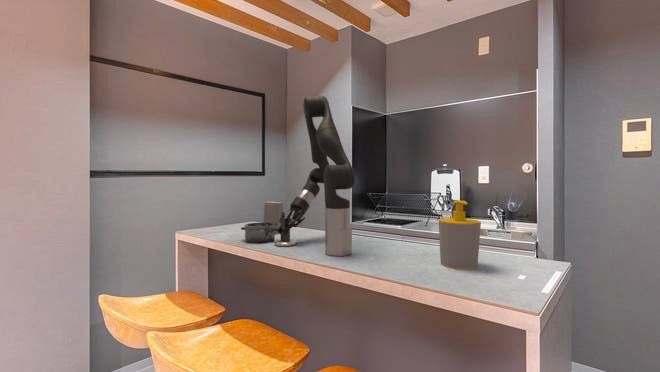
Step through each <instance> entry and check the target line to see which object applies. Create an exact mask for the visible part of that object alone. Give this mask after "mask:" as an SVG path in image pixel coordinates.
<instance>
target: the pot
mask: <svg viewBox="0 0 660 372" xmlns="http://www.w3.org/2000/svg"><path fill="white" fill-rule="evenodd" d="M240 230H241V231H244V242H245V243H248V244H268V243H273V242H275V241H276V238H275V237H276V236H275V235H276V234H275V231H277V230H278V228H275V224H274V223H263V222H251V223H246V224H244V226H241V227H240Z"/></svg>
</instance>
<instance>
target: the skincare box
mask: <svg viewBox="0 0 660 372" xmlns="http://www.w3.org/2000/svg"><path fill="white" fill-rule="evenodd" d="M284 204H285V203H284V202H279V201H264V203H263V205H264V206H263V207H264V208H263V222H262V223H274V224H275V228H279V227H280V222H279V221H280V217H281V214H282V212H284V206H285V205H284ZM278 234H280V233H278V231H275V235H278Z"/></svg>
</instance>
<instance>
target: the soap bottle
mask: <svg viewBox="0 0 660 372" xmlns="http://www.w3.org/2000/svg"><path fill="white" fill-rule="evenodd" d="M453 203H455V210H453V211H452V217H445V218H439V219H438V236H439V237H438V239H439V256H440V260H439V261H440V265H441V266H443V267H444V268H445V267H446V268H448V269H454V270H463V271H465V270H468V269H469V270H475V269H477V268H478V267H479V265H478V264H479V263H478V262H479V253H480V251H479V250H480V238H481V237H480V236H481V225H482V223H481V221H480V220H478V219H472V218H466V211H465V210H464V205H465V206H466V205H469V203H468V202H467V201H466V200H457V199H456V200H453Z"/></svg>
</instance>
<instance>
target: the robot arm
mask: <svg viewBox="0 0 660 372" xmlns="http://www.w3.org/2000/svg"><path fill="white" fill-rule="evenodd" d="M303 113H304V114H303V115H304V117H305V124H306V129H307V134H308V136H309V137H308V138H309V145H310V153H311V160H312V162H313V164H316V165H317V166H318V167H315V168H313V169H311V170H310V172H309V175H308V177H307V179H306V182H305V184H304V186H303V187H302V189H301V190H300V191H299V192H298V193H297V195H296V196H295V197H294V199H293V200H292V201H291V203H290V205H289V206H290V208H289V209H288V210H287V212H285V211H283V212H282V214H281V217H280V218H285V217H286V218H290V219H289V222H288V225H286V227H285V228H284V229H283V231H282V232H283V233H284V234H285V235H286V234H287V233H288V232H289V230H290V231H291V229H292V228H296V227H298V226H299V225H300V224H302V222H303V221H304V220H305V219H306V217H305V216H304V215H306V213H307V211H309V208H310V207H311V205H312V204H313V203H314V200H315V198H317V195H319V192H320V190H321V187H320V186H319V184H323V187H324V206H325V207H324V208H325V209H324V211H325V213H324V215H325V216H324V228H325V229H324V235H325V236H324V237H325V239H324V242H325V245H324V246H325V248H324V251H325V252H324V253H325V254H326V255H328V256H335V257H337V256H338V257H344V256H348V255H351V254H353V230H352V229H353V228H351V226H350V225H351V220H350V219H351V216H350V215H351V212H350V211H351V209H350V208H351V203H350V200H349V199H347V198H344V197H341V196H340V195H338V193H337V190H350V189H353V187H354V186H355V183H356V182H355V181H356V176H355V172H354V169H353V166H352V165H351V163H350V160H349V158H348V157H347V154H346V152H345V149H344V147H343V145H342V141H341V139H340V138H341V137H340V136H339V135H340V134H339V132H338V130H337V127H336V125H335V122H334V118H333V115H332V111H331V108H330V104H329V100H328V98H327V97H326V96H325V95H313V96H311V95H310V96H306V97H304V99H303ZM321 117H322V120H321V122H320V123H319V125H318V127H317V128H316V126H315V124H314V120H313V118H321ZM328 158H329V160H331V161H332V162H333V163H334V164H330V163H329V160H328ZM279 222H280V221H279ZM277 231H278V233H279V234H280V235H281V227H279V228H278V230H277Z"/></svg>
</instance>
